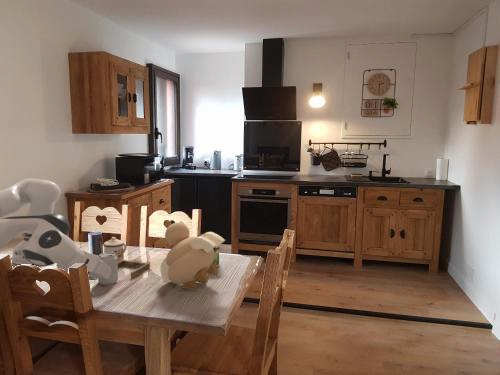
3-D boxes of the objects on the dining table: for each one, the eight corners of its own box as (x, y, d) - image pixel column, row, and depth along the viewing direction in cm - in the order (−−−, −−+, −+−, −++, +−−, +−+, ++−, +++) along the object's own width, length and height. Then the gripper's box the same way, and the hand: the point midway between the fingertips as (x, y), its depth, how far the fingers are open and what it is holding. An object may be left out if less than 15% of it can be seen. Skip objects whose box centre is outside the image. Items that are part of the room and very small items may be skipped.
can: (111, 286, 150) (110, 257, 148) (94, 284, 151) (93, 256, 150) (121, 279, 157) (120, 252, 156) (105, 278, 159) (104, 250, 157)
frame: (104, 274, 163) (104, 268, 162) (122, 265, 175) (122, 259, 175) (133, 278, 159) (133, 272, 159) (149, 268, 171) (149, 263, 171)
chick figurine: (204, 200, 158) (172, 210, 137) (244, 255, 153) (218, 273, 133) (160, 240, 169) (125, 254, 148) (196, 292, 165) (165, 314, 144)
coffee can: (223, 265, 177) (223, 236, 175) (204, 269, 171) (204, 239, 169) (212, 259, 185) (212, 231, 184) (193, 263, 179) (193, 234, 178)
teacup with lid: (113, 265, 175) (112, 241, 173) (99, 262, 179) (99, 238, 177) (132, 258, 185) (132, 235, 183) (119, 255, 189) (119, 232, 188)
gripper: (46, 265, 136) (68, 282, 147) (94, 272, 131) (113, 288, 141) (55, 250, 140) (75, 267, 150) (102, 256, 134) (120, 273, 145)
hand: (94, 277), depth 146 cm, fingers closed
